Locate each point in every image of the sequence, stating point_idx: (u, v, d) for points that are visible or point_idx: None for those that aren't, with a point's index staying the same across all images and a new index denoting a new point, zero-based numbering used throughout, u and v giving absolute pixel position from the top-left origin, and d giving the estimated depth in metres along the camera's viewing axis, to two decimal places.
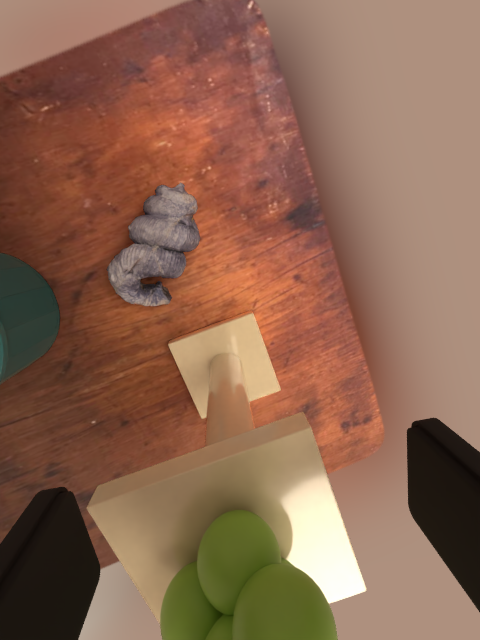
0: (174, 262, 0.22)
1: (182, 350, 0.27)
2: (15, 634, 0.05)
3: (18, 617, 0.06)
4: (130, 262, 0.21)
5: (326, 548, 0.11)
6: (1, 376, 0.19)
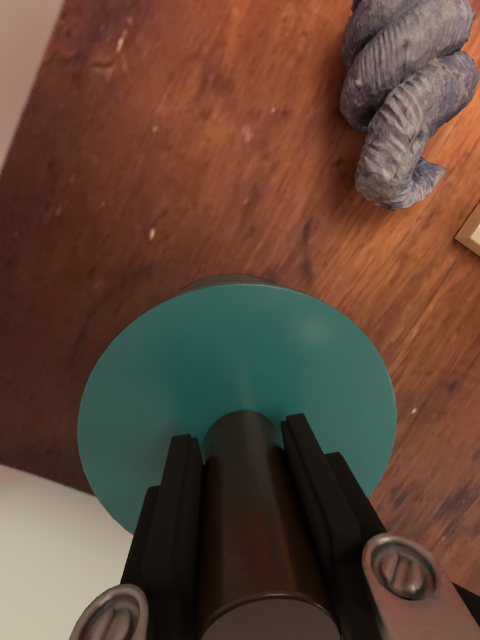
0: (474, 64, 0.12)
1: None
2: (195, 533, 0.07)
3: (194, 522, 0.07)
4: (416, 114, 0.12)
5: None
6: None
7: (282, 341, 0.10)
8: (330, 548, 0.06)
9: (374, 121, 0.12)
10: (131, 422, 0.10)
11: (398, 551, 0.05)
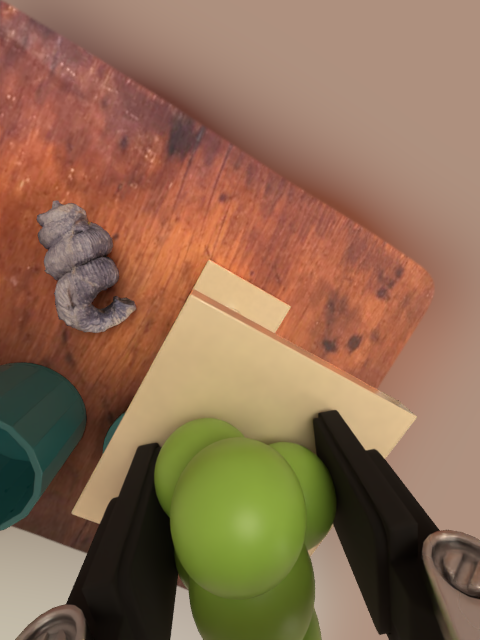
0: (99, 269, 0.21)
1: None
2: (151, 548, 0.07)
3: (151, 536, 0.07)
4: (65, 297, 0.21)
5: (328, 403, 0.09)
6: None
7: None
8: (385, 546, 0.05)
9: None
10: None
11: (462, 550, 0.05)
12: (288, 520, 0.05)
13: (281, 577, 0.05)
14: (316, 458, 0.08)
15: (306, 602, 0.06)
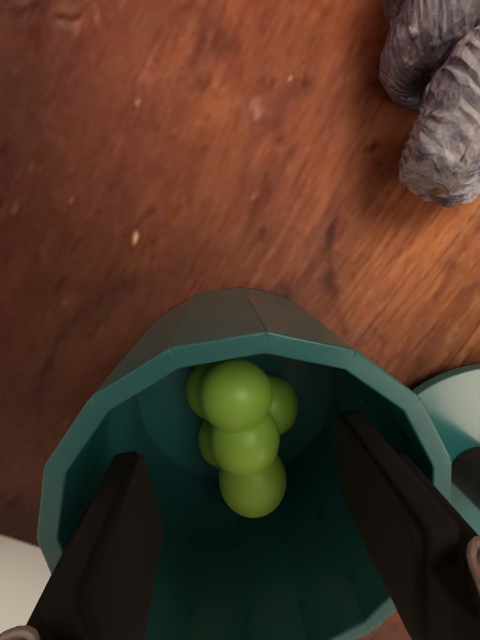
0: None
1: None
2: (120, 563, 0.06)
3: (121, 550, 0.06)
4: None
5: None
6: None
7: None
8: (424, 550, 0.05)
9: (435, 83, 0.09)
10: None
11: None
12: (260, 389, 0.10)
13: (257, 417, 0.10)
14: (285, 382, 0.13)
15: (272, 439, 0.10)
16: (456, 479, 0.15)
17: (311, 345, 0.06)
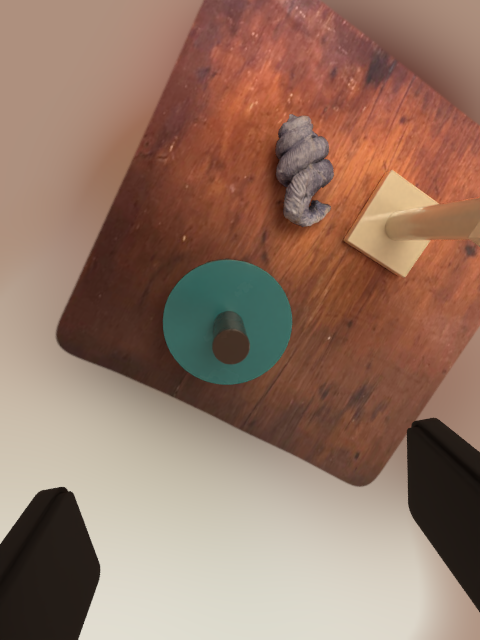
0: (328, 166, 0.27)
1: (360, 236, 0.32)
2: (15, 634, 0.05)
3: (18, 617, 0.06)
4: (302, 187, 0.27)
5: None
6: (290, 309, 0.26)
7: (243, 282, 0.25)
8: None
9: (288, 188, 0.28)
10: (184, 315, 0.26)
11: None
12: None
13: None
14: None
15: None
16: None
17: None
